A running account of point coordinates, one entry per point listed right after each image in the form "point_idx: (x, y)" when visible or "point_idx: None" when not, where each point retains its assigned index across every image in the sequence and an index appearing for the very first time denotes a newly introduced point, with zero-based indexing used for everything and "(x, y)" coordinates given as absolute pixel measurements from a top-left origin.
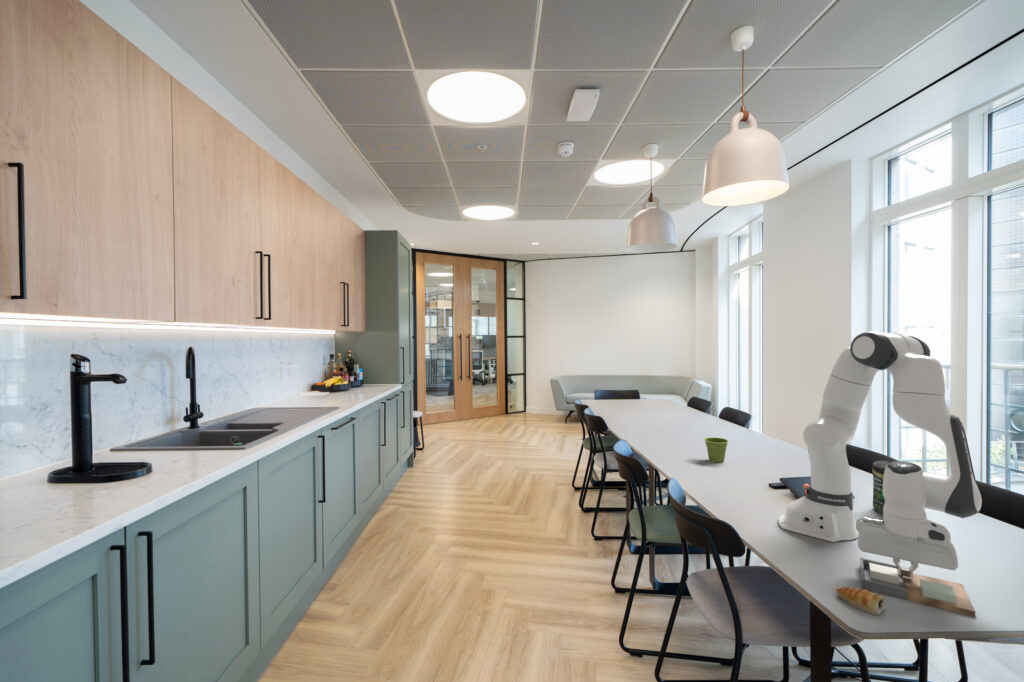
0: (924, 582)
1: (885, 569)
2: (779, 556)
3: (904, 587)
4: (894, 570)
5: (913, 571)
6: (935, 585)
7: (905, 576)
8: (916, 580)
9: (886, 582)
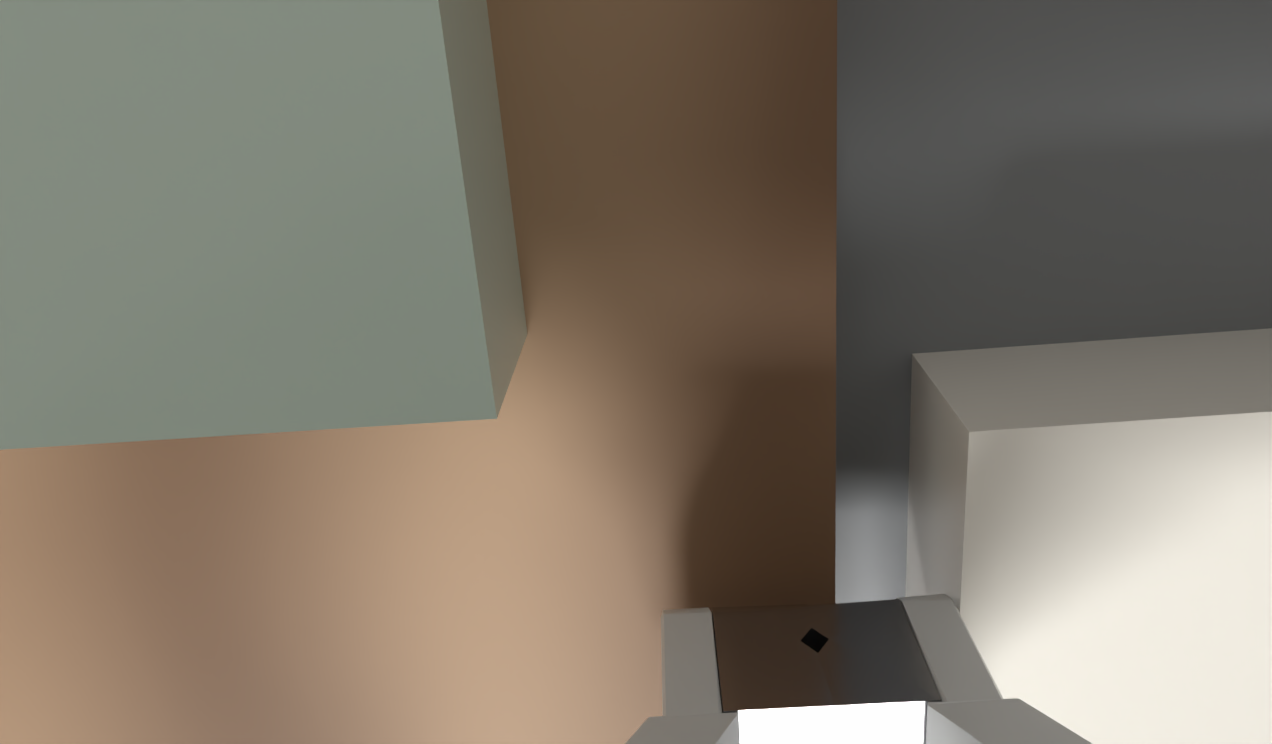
0: (374, 253)
1: (1220, 671)
2: None
3: None
4: None
5: (642, 727)
6: (89, 220)
7: None
8: (590, 621)
9: (1166, 284)
